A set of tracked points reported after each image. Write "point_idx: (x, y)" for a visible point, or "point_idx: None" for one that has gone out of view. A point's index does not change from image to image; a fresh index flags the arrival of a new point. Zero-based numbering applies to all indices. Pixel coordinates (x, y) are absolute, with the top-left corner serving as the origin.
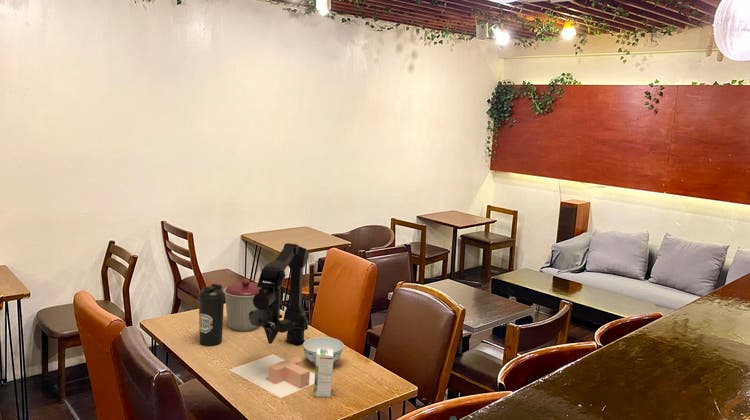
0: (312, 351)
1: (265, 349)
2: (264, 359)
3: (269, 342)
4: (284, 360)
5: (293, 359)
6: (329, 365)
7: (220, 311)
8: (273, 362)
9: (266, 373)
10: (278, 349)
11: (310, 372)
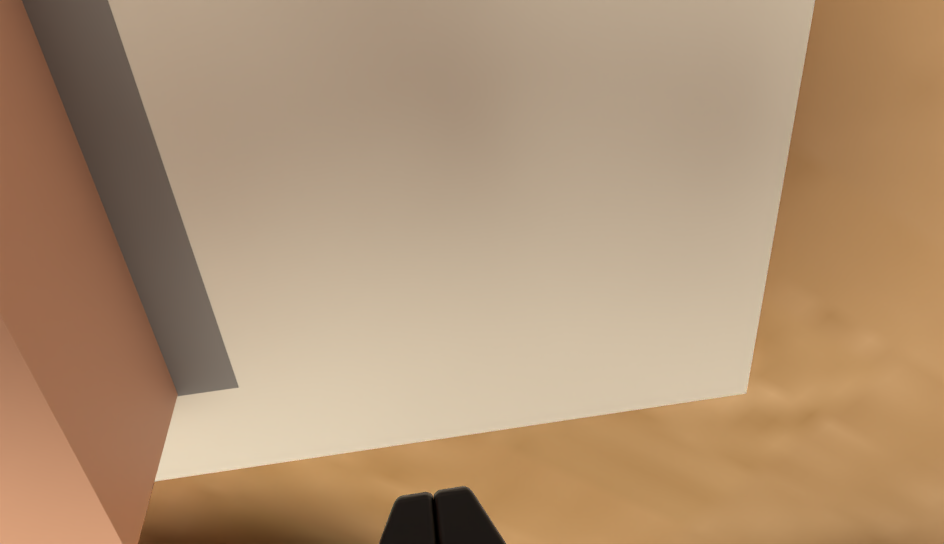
0: None
1: (928, 387)
2: (713, 247)
3: (417, 519)
4: (507, 418)
5: (24, 512)
6: None
7: None
8: (551, 295)
9: (272, 19)
10: (806, 482)
11: None
